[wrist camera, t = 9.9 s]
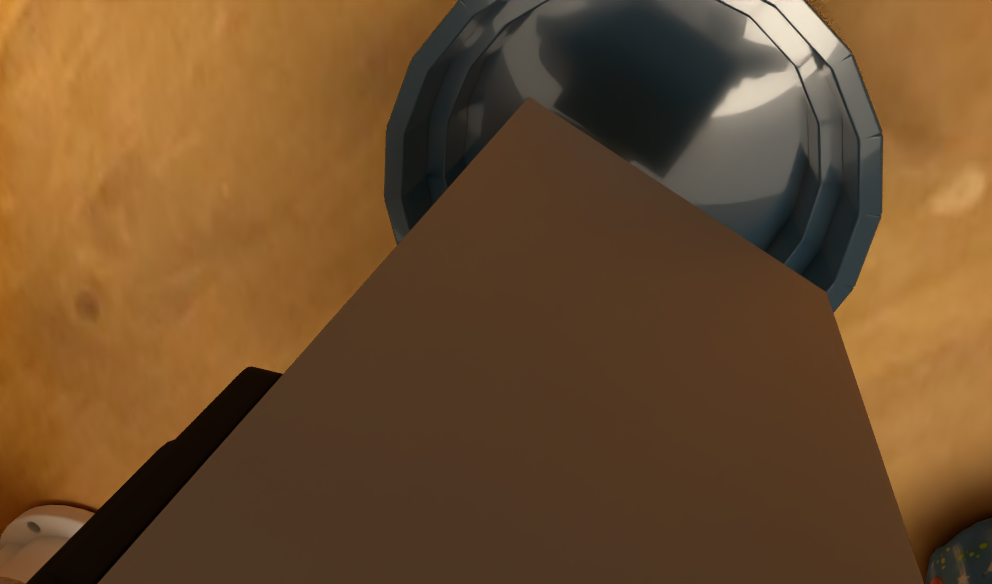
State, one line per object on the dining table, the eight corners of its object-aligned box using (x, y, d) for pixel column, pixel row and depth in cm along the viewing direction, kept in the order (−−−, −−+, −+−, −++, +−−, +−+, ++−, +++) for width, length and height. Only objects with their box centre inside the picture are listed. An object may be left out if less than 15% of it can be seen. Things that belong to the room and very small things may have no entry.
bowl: (427, 287, 31) (378, 356, 26) (451, -95, 24) (391, -95, 19) (777, 360, 29) (792, 450, 24) (913, -39, 22) (974, -24, 17)
